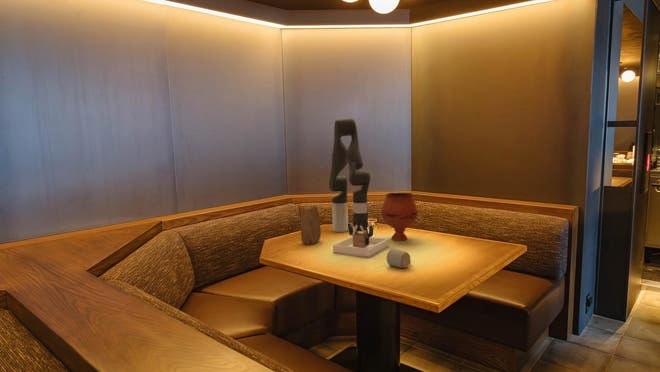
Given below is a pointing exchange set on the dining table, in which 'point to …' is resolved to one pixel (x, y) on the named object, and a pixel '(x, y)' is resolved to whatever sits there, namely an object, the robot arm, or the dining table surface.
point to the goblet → (399, 213)
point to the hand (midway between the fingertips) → (361, 244)
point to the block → (310, 225)
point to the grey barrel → (398, 258)
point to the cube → (359, 240)
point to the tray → (369, 251)
